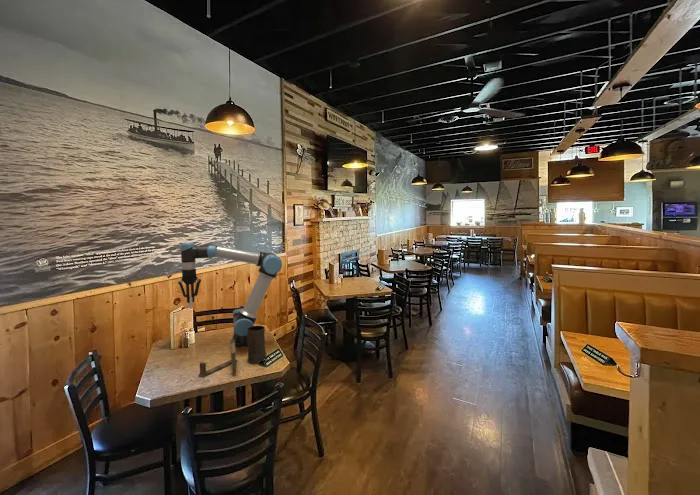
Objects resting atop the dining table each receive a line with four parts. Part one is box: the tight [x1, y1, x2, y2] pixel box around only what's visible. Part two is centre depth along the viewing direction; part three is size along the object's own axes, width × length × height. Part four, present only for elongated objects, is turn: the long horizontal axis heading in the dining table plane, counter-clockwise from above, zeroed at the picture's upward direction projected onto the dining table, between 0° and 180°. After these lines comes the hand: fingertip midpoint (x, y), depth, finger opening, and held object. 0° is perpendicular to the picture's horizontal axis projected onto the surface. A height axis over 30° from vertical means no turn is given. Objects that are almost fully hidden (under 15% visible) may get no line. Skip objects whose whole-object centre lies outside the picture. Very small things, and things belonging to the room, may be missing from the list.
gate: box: [230, 341, 237, 374], centre depth 188 cm, size 17×2×11 cm, turn 20°
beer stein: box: [247, 325, 267, 365], centre depth 201 cm, size 15×11×20 cm
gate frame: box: [198, 339, 239, 378], centre depth 189 cm, size 23×4×13 cm, turn 149°
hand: (191, 307), depth 202 cm, fingers closed
